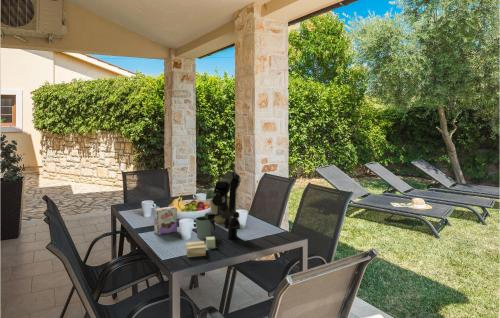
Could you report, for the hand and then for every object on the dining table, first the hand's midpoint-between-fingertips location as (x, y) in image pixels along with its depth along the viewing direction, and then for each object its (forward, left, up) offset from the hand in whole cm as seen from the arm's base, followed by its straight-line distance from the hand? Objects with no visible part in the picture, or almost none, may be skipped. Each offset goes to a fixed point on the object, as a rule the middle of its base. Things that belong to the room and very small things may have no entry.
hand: (222, 230), depth 193 cm
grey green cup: (-27, -9, -12) cm, 31 cm away
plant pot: (-58, +5, -12) cm, 60 cm away
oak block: (0, -15, -13) cm, 19 cm away
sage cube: (-9, -6, -12) cm, 16 cm away
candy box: (-40, -33, -12) cm, 53 cm away
